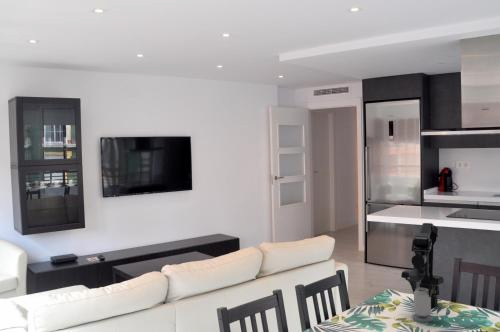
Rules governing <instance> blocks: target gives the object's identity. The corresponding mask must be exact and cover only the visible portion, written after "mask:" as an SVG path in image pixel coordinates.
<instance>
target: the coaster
mask: <svg viewBox="0 0 500 332" xmlns="http://www.w3.org/2000/svg"><path fill="white" fill-rule="evenodd" d="M411 317H412V320H413V321H415V322H417V321H418V323H426V324H427V323H432V322H433V320H434V319H433V318H434V317H433V316H432V315H431V314H430V315H429V316H425V317H423V316H418V315H416V314H415V313H413V314H412V316H411Z"/></svg>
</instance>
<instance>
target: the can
mask: <svg viewBox="0 0 500 332" xmlns="http://www.w3.org/2000/svg"><path fill="white" fill-rule="evenodd" d="M431 311H432V309H431V297H429V290H428V289H426V288H420V287H416V289H415V291H414V293H413V314H416V315H418V316H423V317H425V316H429V315H431V314H432V312H431Z"/></svg>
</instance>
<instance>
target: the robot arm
mask: <svg viewBox="0 0 500 332" xmlns="http://www.w3.org/2000/svg"><path fill="white" fill-rule="evenodd" d="M439 238H440V230H439V228H438V227H437V226H436V225H434V223H432V222H424V223H422V225H421V227H420V231H419V233H416V234H415V235H414V237H412V244H411V252H414V255H413V256H412V257H411V264H412V265H413V268H412V269H411V270H410V269H406V270H403V271H402V272H401V275H400V277H401V278H403V279H404V280H406V281H407V282H408V283H409V285H410V287H411V290H412V293H413V294H414V291H415V289H416V288H417V283H419V288H426V289H428V290H429V297H431V308H432V309H433V308H435V307H437V306H439V303H438V296H439V295H440V294H441V293H440V291H441V290H440V286H439V285H441V284H444V283H445V281H444V280H445V279H444V278H443V276H440V275H436V274H434V272H435V271H434V270H435V269H434V267H435V266H434V265H435V264H434V263H435V246H436V244H437V242H438V239H439Z"/></svg>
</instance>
